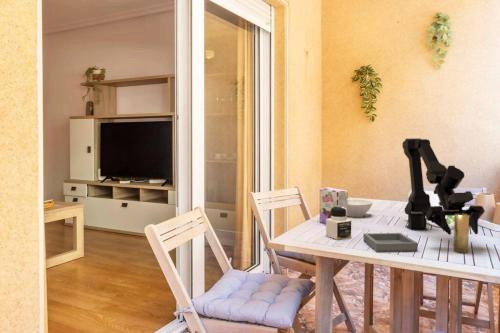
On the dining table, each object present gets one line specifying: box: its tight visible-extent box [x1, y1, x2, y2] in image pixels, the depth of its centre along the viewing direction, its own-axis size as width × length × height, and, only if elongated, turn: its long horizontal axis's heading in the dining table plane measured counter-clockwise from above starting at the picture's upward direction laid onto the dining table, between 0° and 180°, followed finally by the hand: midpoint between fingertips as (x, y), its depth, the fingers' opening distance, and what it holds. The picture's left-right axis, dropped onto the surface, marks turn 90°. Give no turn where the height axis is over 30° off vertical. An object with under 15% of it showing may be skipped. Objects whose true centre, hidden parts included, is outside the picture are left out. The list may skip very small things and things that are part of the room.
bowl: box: [347, 198, 373, 218], centre depth 197 cm, size 16×16×7 cm
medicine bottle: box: [325, 207, 352, 241], centre depth 155 cm, size 7×7×12 cm
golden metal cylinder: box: [453, 213, 470, 254], centre depth 134 cm, size 4×4×13 cm
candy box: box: [319, 186, 349, 225], centre depth 177 cm, size 14×6×16 cm, turn 24°
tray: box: [363, 232, 419, 253], centre depth 142 cm, size 14×14×3 cm
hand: (463, 233), depth 133 cm, fingers open, 9 cm apart
